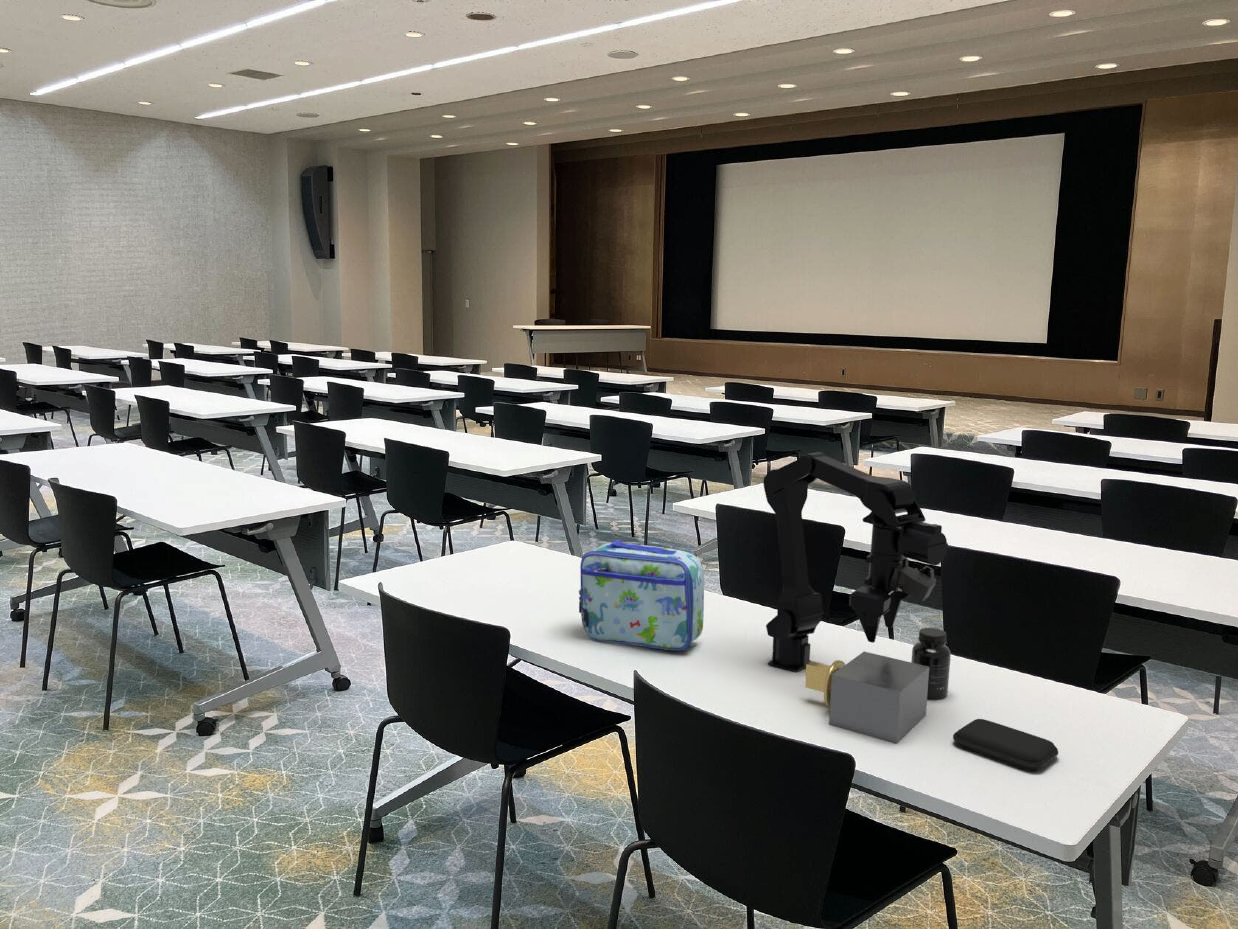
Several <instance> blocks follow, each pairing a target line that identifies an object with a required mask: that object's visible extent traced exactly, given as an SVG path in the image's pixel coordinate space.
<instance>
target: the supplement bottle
mask: <svg viewBox="0 0 1238 929" xmlns="http://www.w3.org/2000/svg"><path fill="white" fill-rule="evenodd" d="M946 644H947V632H946V631H944V630H943V629H940V628H936V627H922V628H920V629H919V631H918V642H916V643H915V644H914V645H913V647H912V650H911V661H910V662H911V663H915V664H920V665H924V666H928V667H929V678H928V692H927V700H931V701H932V700H942V699H943V698H946V697H947V695H948V691H949V690H948V689H949V683H950V682H949V680H950V671H951V670H950V668H951V667H950V666H951V656H952V655H951V650H950V648H949V647H948V646H947V645H946Z"/></svg>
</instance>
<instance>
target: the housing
mask: <svg viewBox="0 0 1238 929" xmlns="http://www.w3.org/2000/svg"><path fill="white" fill-rule="evenodd" d="M928 678H929V667H928V666H924V665H920V664H915V663H911V661H908V660H907V661H906V660H902V659H899V658H893V657H889V656H886V655H880V654H877V653H873V652H868V651H864V650H863V652H861V653H859V654H858V655H857V656H856V657H854V658H853V659H851V660H850V661H848V662H847V663H846V664H845V665H844V666H843V667H842V668H840V669H839V670H838V671H836V672H835V673H833V674H832V679H831V698H830V707H829V720H828V724H829V725H831V726H833V727H838V728H840V729H844V730H848V731H852V732H853V733H854V732H855V733H859V734H862V735H864V736H869V737H873V738H875V739H879V740H883V741H886V742H889V743H893V744H898V743H899V742H900V741H901V740H902V739H903V738H904V737H905V736H907V735H908V734H909V733H910V731H912V729H913V728H915V726H916V725H917V724H918V723H920V722H921V720H923V719H924V718H925V717H926V716H927V703H928V699H927V692H928Z"/></svg>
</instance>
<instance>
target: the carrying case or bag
mask: <svg viewBox="0 0 1238 929" xmlns="http://www.w3.org/2000/svg"><path fill="white" fill-rule="evenodd" d="M952 739H953V741H954V743H955V744H956V745H957V747H960V748H962V749H963V750H966V751H968V752H969V751H970V752H971V753H974V754H978V755H980V756H984V757H986V758H989V759H991V760H994V761H997V762H1000V763H1003V764H1006V765H1009V766H1011V767H1013V768H1017V769H1020V770H1022V771H1026V772H1030V773H1034V772H1037V771H1040V770H1041V769H1043V768H1044V767H1045V766H1046V765H1048V764H1050V763H1051V761H1053V760H1054V759H1055V758H1056V757H1057V756H1058V755H1059V750H1058V747H1057V746H1055V743H1054V742H1052V741H1051V740H1049V739H1046V738H1043V737H1040V736H1037V735H1034V734H1030V733H1028V732H1024V731H1022V730H1019V729H1016V728H1013V727H1011V726H1010V727H1009V726H1007V725H1003V724H1000V723H998V722H994V721H991V720H988V719H986V718H985V719H984V718H976V719H973V720H972V721H970V722H968V723H967V724H966V725H964V726H962V727H961V728H960V729H958V730H957V731H955V732H954V733H953V735H952Z"/></svg>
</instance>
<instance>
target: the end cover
mask: <svg viewBox="0 0 1238 929" xmlns="http://www.w3.org/2000/svg"><path fill="white" fill-rule="evenodd" d="M844 665H846V664H845V661H843V660H840V659H836V660H835V661H833V662H832V664H831V665H829V664H825V663H820V662H816V661H813V660H811V661H810V662H809V663H807V664H806V666H805V668H806V669H805V682H804V684H805V685H804V686H805V688H807V689H810V690H813V691H818V692H822V693H823V699H824V703H825V705H826V706H827V707H828V708H830V698H831V679H832V674H833V673H835V672H836V671H838V670H839V669H840V668H842V667H843V666H844Z"/></svg>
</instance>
